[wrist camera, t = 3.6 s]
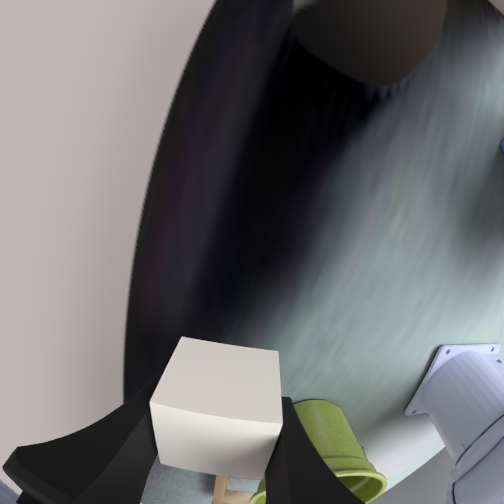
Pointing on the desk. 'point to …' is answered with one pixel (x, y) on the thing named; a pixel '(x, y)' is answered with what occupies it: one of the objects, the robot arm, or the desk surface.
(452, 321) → the desk surface
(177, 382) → the cream block
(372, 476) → the plant pot
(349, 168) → the desk surface
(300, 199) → the desk surface
